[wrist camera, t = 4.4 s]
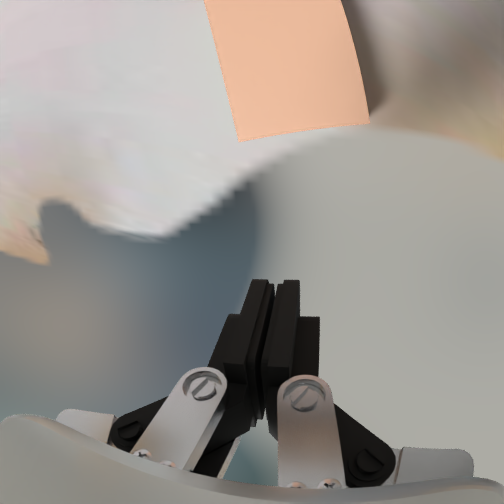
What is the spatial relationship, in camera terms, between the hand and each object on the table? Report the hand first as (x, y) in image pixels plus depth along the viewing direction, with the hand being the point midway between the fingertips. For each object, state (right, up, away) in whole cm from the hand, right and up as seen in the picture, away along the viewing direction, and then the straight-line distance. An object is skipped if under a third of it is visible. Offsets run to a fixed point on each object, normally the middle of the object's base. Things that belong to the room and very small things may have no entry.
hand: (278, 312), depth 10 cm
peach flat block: (+1, +16, +5) cm, 17 cm away
